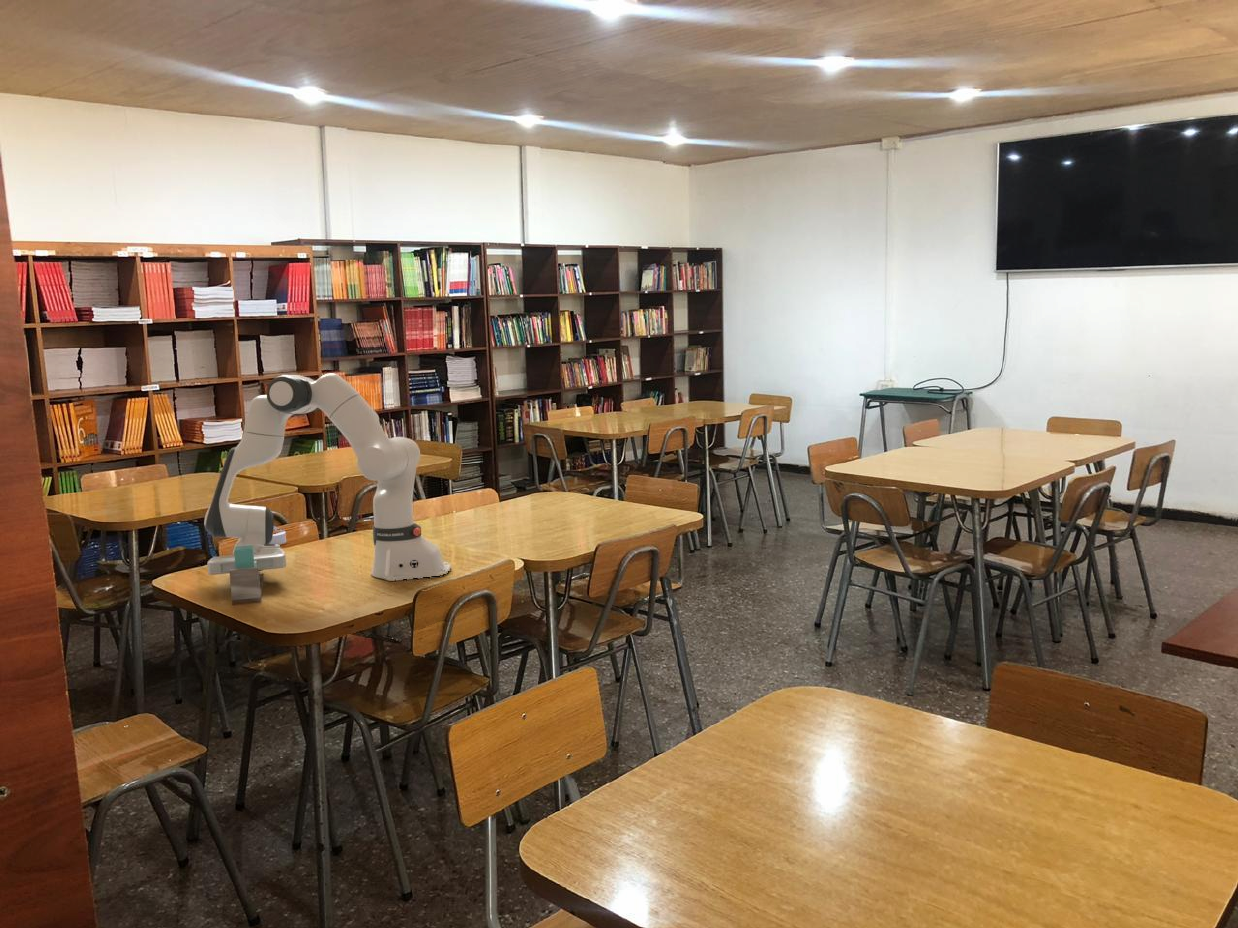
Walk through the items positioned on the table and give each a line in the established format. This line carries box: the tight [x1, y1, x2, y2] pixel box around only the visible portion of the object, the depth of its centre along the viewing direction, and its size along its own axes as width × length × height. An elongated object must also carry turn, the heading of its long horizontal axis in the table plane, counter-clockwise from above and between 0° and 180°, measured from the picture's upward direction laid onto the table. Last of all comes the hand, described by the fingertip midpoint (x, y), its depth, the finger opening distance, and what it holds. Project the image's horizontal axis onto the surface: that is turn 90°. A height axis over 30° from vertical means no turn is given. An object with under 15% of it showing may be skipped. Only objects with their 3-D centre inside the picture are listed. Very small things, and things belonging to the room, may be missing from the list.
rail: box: [228, 567, 265, 606], centre depth 258 cm, size 26×7×9 cm, turn 19°
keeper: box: [233, 545, 255, 569], centre depth 251 cm, size 4×4×12 cm
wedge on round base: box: [269, 525, 287, 546], centre depth 317 cm, size 9×7×13 cm
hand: (246, 569), depth 253 cm, fingers closed, pressing on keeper
